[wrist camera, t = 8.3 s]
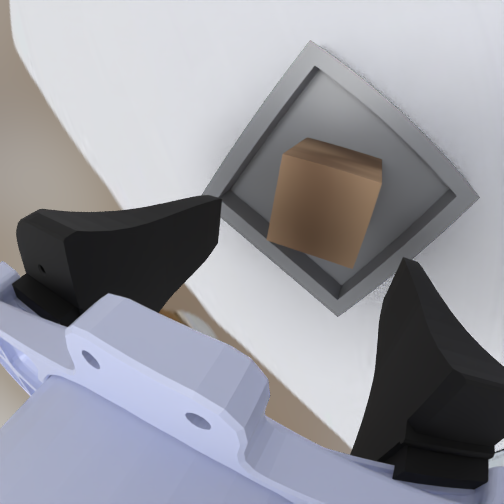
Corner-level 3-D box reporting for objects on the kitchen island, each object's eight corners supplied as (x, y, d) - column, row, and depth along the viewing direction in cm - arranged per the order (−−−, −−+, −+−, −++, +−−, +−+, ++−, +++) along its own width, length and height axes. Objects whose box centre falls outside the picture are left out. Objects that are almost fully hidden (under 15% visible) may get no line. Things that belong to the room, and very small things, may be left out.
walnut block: (381, 159, 17) (381, 183, 13) (361, 227, 19) (352, 269, 15) (307, 137, 18) (282, 153, 14) (292, 205, 20) (266, 240, 16)
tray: (469, 184, 16) (480, 197, 14) (343, 295, 23) (337, 317, 21) (319, 46, 15) (310, 40, 13) (216, 187, 23) (199, 199, 21)
